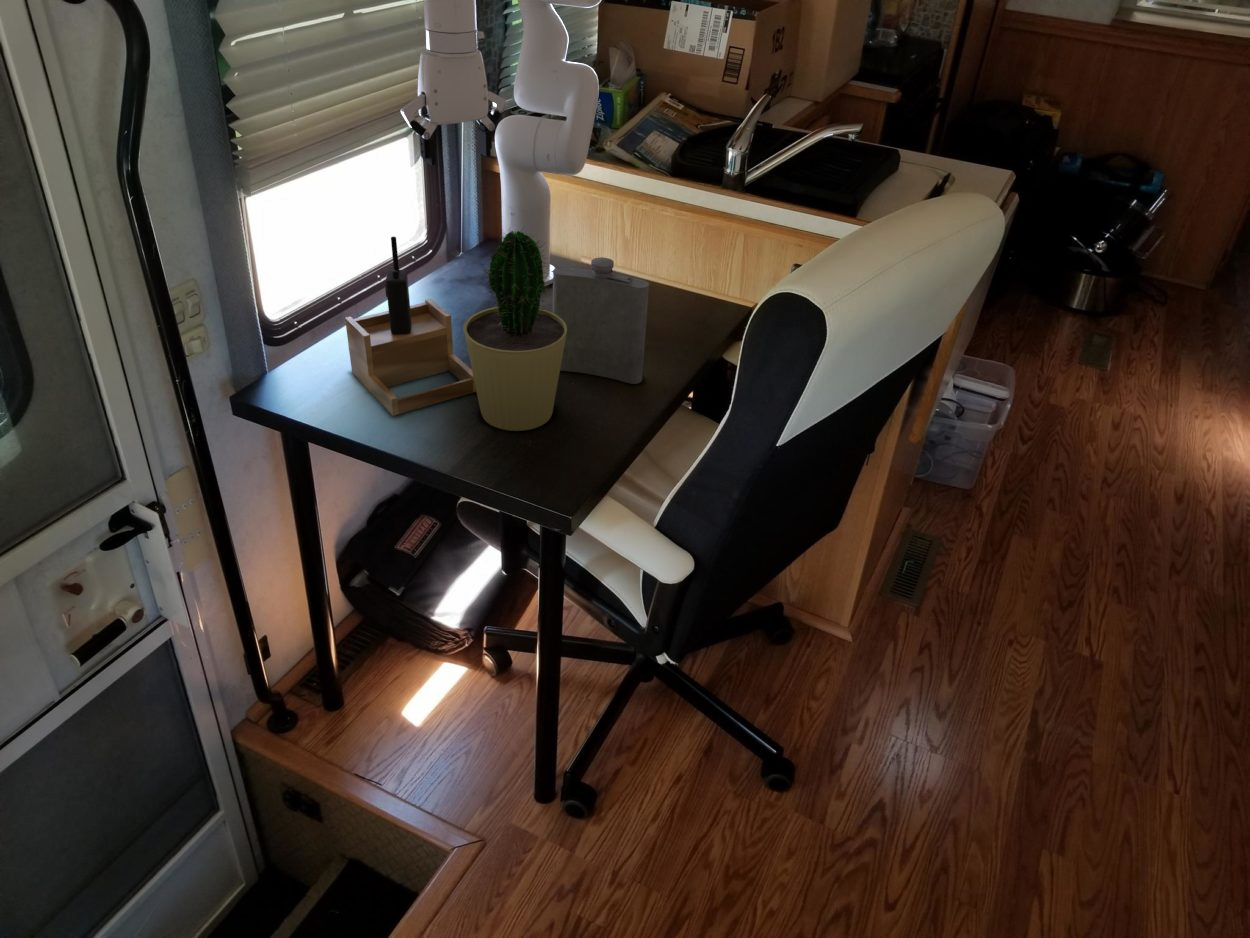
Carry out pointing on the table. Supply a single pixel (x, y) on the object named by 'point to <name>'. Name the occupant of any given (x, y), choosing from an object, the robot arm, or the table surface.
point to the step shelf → (407, 357)
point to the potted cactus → (516, 340)
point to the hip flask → (602, 320)
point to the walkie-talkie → (398, 296)
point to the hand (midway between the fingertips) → (457, 158)
